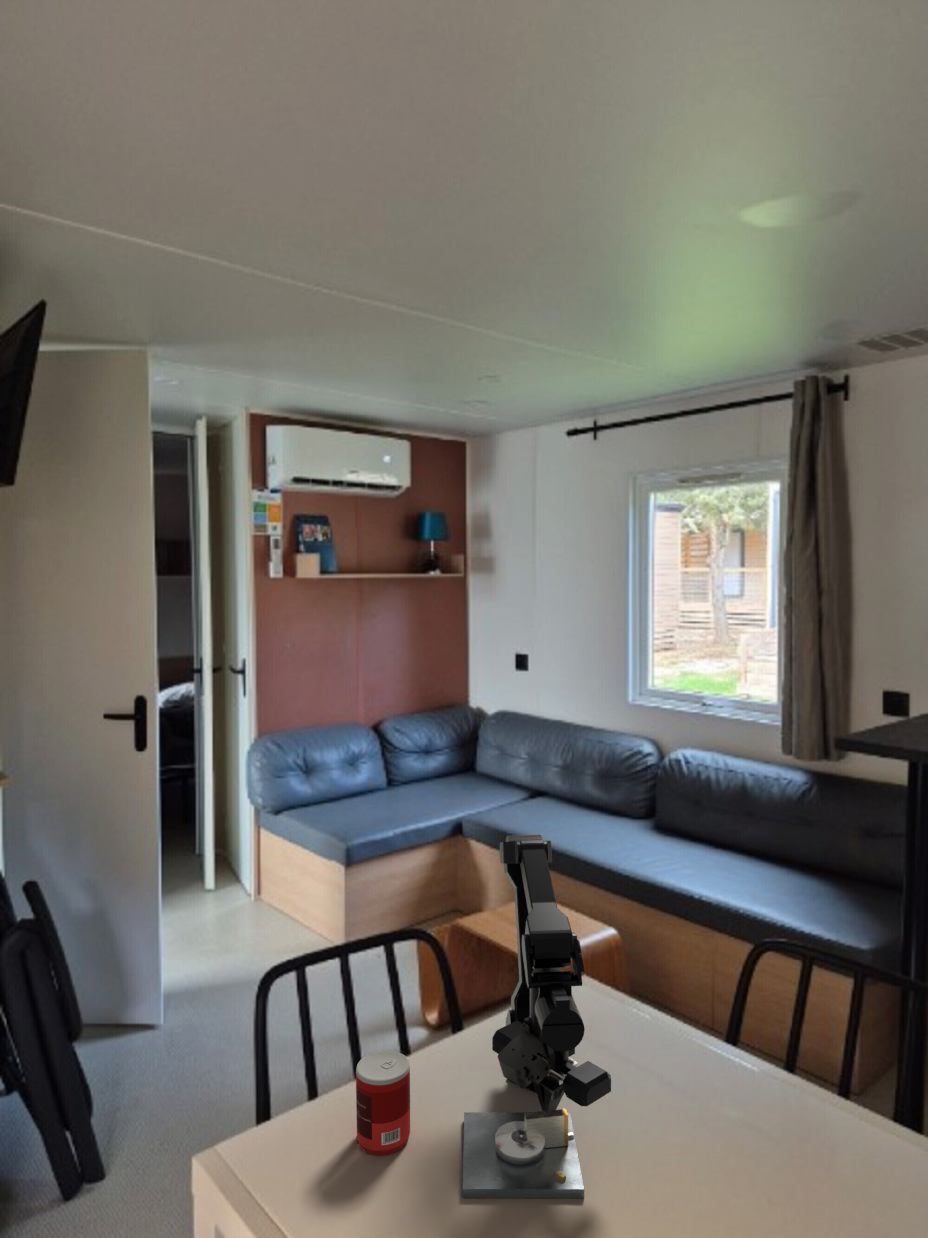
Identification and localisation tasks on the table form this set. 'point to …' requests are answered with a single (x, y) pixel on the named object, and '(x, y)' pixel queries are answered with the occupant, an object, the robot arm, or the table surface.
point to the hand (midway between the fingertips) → (548, 1118)
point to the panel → (506, 1180)
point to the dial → (532, 1136)
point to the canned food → (383, 1102)
